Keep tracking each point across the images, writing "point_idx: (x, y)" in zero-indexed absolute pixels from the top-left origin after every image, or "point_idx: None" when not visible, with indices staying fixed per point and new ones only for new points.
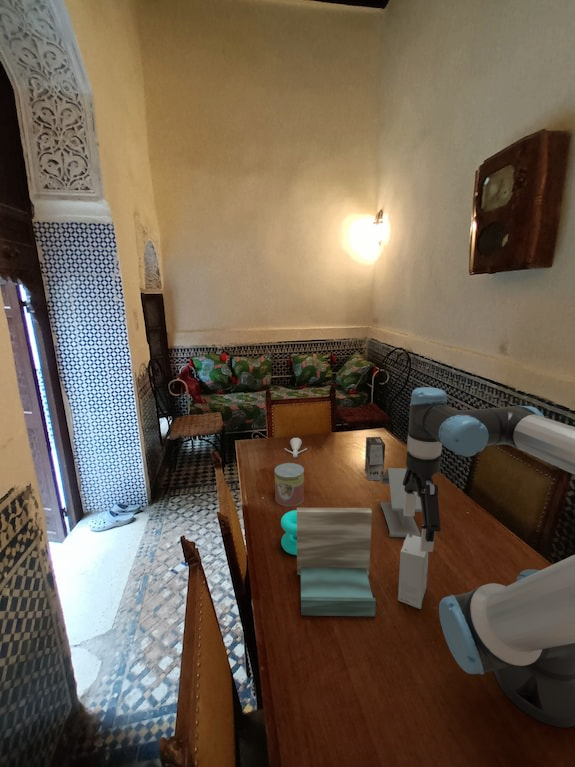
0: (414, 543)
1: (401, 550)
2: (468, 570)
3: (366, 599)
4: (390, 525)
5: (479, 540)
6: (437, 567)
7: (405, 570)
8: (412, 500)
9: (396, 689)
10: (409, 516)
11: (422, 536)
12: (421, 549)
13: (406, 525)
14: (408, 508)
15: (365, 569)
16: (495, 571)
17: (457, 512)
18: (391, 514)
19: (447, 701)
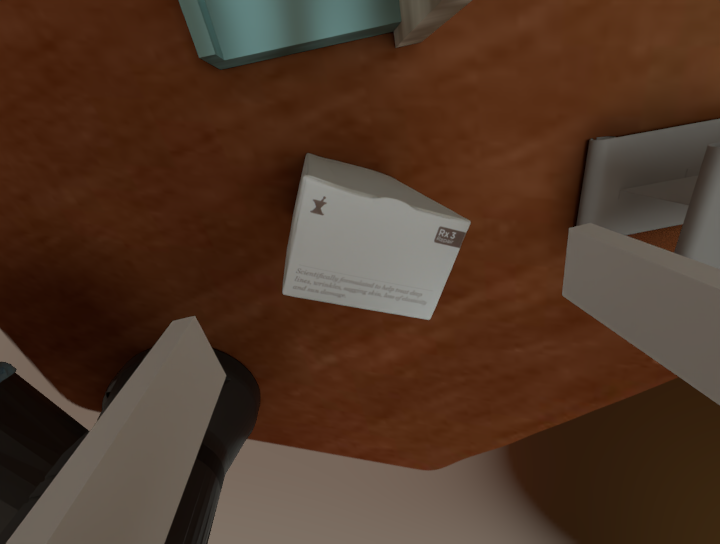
0: (385, 254)
1: (309, 180)
2: (452, 337)
3: (190, 11)
4: (642, 142)
5: (552, 370)
6: (456, 272)
7: (299, 189)
8: (708, 363)
9: (3, 131)
10: (676, 215)
11: (95, 425)
12: (165, 331)
13: (632, 201)
14: (623, 283)
15: (393, 20)
16: (454, 383)
17: None
18: (703, 149)
19: (55, 251)
